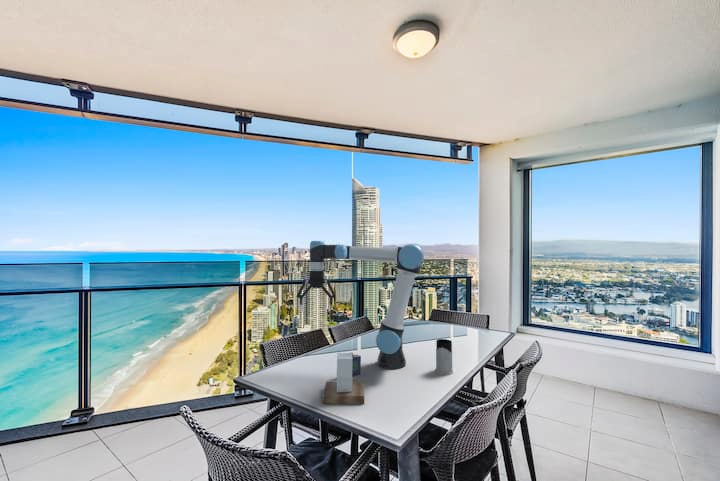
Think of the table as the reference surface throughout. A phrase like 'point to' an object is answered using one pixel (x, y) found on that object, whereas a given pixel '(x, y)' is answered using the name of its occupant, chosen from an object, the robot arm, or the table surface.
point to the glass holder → (444, 357)
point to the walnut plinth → (343, 394)
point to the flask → (356, 365)
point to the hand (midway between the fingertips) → (316, 311)
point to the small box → (344, 372)
